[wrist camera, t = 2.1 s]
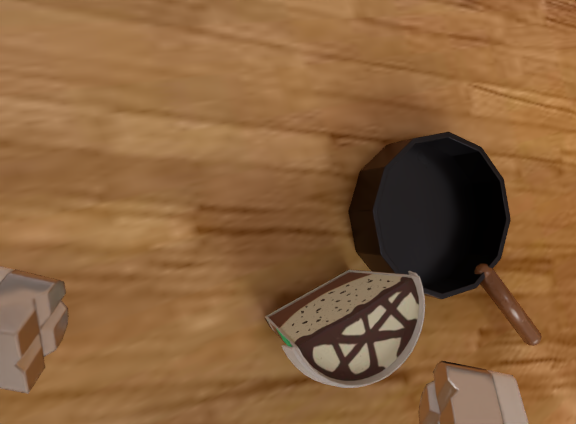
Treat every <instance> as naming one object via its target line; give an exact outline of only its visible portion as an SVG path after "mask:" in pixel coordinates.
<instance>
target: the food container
mask: <svg viewBox="0 0 576 424" xmlns="http://www.w3.org/2000/svg"><path fill="white" fill-rule="evenodd" d="M408 273H409V275H406V274H394V273H382V272H371V271H359V270H348V271H346V272H344V273H342V274H340V275H339V276H337V277H335V278H333V279H331V280H330V281H328V282H326V283H324V284H323V285H321V286H319V287H317V288H315V289H314V290H312V291H310V292H308V293H306V294H305V295H303V296H301V297H299V298H297V299H296V300H294V301H292V302H290V303H288V304H287V305H285V306H283V307H281V308H280V309H278V310H276V311H274V312H272V313H271V314H269V315H267V316H265V319H266V321H267V322H268V324H269V326H270V328H271V329H272V330H273V331H274V332H275V333H276V334H277V335H278V336H279V337H280V338H281V339H282V340H283V341H284V342H285V343H286V344H287V345H288V346H286V345H282V348H283V350H284V352H285V353H286V355H287V357H288V358H289V359H290V361H291V362H292V363H293V364H294V366H295V367H297V368H298V369H299V370H300V371H301V372H302V373H303V374H305V375H307V376H308V377H310V378H311V379H313V380H315V381H318V382H321V383H323V384H328V385H333V386H338V387H343V388H355V387H361V386H366V385H370V384H372V383H375V382H378V381H380V380H382V379H384V378H386V377H387V376H389V375H390V374H392V373H393V372H394V371H396V370H397V369H398V368H399V367H400V366H401V365H402V364H403V363H404V362H405V361H406V359H407V358H408V356H409V355H410V354H411V352H412V351H413V349H414V347H415V345H416V343H417V341H418V338H419V335H420V333H421V330H422V325H423V321H424V312H425V297H424V291H423V285H422V282H421V279H420V276H418V275H417V274H416V273H414V272H412V271H408Z"/></svg>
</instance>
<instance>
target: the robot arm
mask: <svg viewBox="0 0 576 424" xmlns="http://www.w3.org/2000/svg"><path fill="white" fill-rule="evenodd" d="M65 294H66V290H65V284H64V282H63V281H61V280H57V279H53V278H49V277H45V276H41V275H36V274H32V273H28V272H24V271H20V270H16V269H15V270H14V269H10V268H6V267H2V266H0V388H1V389H6V390H12V391H17V392H23V393H28V394H29V392H30V390H31V389H32V387H33V386H34V384H35V383H36V381H37V379H38V378H39V376H40V375H41V373H42V372H43V370H44V368H45V362H44V357H45V356H46V355H48V354H50V353H52V352H54V351H55V350H56V349H57V348H58V346H59V344H60V343H61V341H62V339H63V337H64V334H65V331H66V328H67V325H68V317H69V315H68V308H67V306H66V305H65V304H64V303H63V302H62V301H61V300H62V298H63V297H64V295H65ZM433 373H434V381H432V382H430V383H428V384H426V386H425V389H424V391H423V393H422V396H421V400H420V405H419V424H529V422H528V419H527V416H526V412H525V409H524V405H523V402H522V398H521V395H520V392H519V388H518V385H517V381H516V379H515V378H514V377H513V375H508V374H504V373H499V372H494V371H489V370H488V371H487V370H486V369H481V368H476V367H471V366H466V365H461V364H456V363H451V362H446V361H440V362H439V363H438V364H437V365H436V367H435V369H434V371H433Z"/></svg>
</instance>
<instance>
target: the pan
mask: <svg viewBox="0 0 576 424" xmlns="http://www.w3.org/2000/svg"><path fill="white" fill-rule="evenodd" d="M349 216H350V221H351V226H352V231H353V237H354V242H355V247H356V252H357V253H358V255H359V256H360V257H361V258H362V259H363V261H364V262H365V263H366V264H367V266H368V267H369V268H370V269H371V270H372V272H382V273H394V274H406V275H409V273H408V271H412V272H414V273H416V274H417V275H418V276H420V279H421V282H422V285H423V291H424V295H426V296H431V297H435V298H439V299H444V298H447V297H450V296H453V295H456V294H459V293H462V292H465V291H468V290H472V289H475V288H477V287H478V285H479V284H481V285H482V286H483V288H484V289H485V290H486V292H487V293H488V294H489V296H490V297H491V298H492V300H493V301H494V302H495V304H496V305H497V306H498V308H499V309H500V310H501V312H502V313H503V314H504V316H505V317H506V318H507V320H508V321H509V322H510V324H511V325H512V326H513V328H514V329H515V330H516V332H517V333H518V334H519V336H520V337H521V338H522V339H523V341H524V342H525V343H526V344H528V345H537V344H538V343H539V342H540V341H541V333H540V332H539V330H538V329H537V328H536V326H535V325H534V324H533V322H532V321H531V320H530V318H529V317H528V316H527V314H526V313H525V311H524V310H523V309H522V307H521V306H520V305H519V303H518V302H517V301H516V299H515V298H514V297H513V295H512V294H511V293H510V291H509V290H508V288H507V287H506V286H505V284H504V283H503V282H502V280H501V279H500V278H499V276H498V275H497V274H496V272H495V271H494V270H493V267H494V266H495V265H496V264H497V263H498V261H499V260H500V259H501V256H502V252H503V248H504V244H505V240H506V236H507V232H508V228H509V224H510V213H509V207H508V201H507V196H506V190H505V184H504V179H503V177H502V176H501V175H500V173H499V172H498V170H497V169H496V167H495V166H494V164H493V163H492V162H491V160H490V159H489V157H488V156H487V154H486V153H485V151H484V150H483V149H482V148H481V147H480V146H478V145H476V144H474V143H471V142H469V141H467V140H465V139H463V138H461V137H459V136H456V135H454V134H452V133H450V132H445V133H440V134H434V135H429V136H424V137H418V138H413V139H409V140H405V141H401V142H397V143H393V144H389V145H386V146H385V147H384V148H383V149H382V150H381V151H380V152H379V153H378V154H377V155H376V156H375V157H374V158H373V159H372V160H371V161H370V162H369V163H368V164H367V165H366V166H365V167H364V168H363V169H362V170H361V171H360V173H359V177H358V180H357V184H356V187H355V190H354V194H353V197H352V201H351V204H350V208H349Z"/></svg>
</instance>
